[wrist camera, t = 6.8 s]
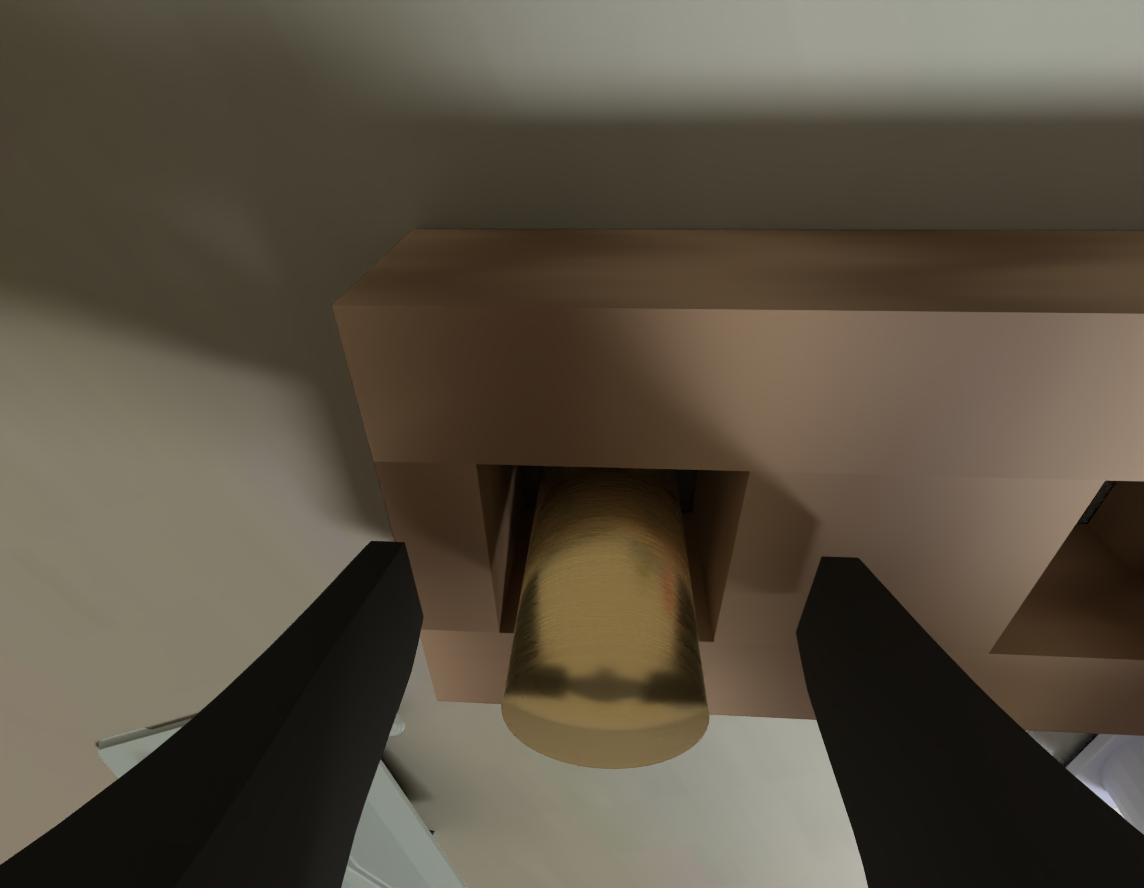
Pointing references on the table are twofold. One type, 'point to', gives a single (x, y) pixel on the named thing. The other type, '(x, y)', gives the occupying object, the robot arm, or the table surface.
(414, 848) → the metal bracket
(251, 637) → the table surface
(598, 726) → the brass peg
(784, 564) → the hole block
